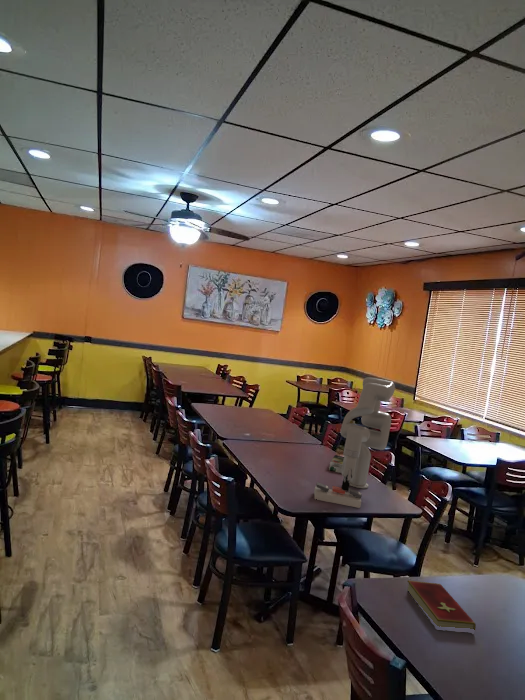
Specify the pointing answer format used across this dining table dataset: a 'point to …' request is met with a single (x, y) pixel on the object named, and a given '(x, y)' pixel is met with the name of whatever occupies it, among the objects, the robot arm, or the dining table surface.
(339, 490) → the red rocker
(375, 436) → the robot arm
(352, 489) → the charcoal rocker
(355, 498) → the rocker switch panel
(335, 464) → the juice carton
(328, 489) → the charcoal rocker
